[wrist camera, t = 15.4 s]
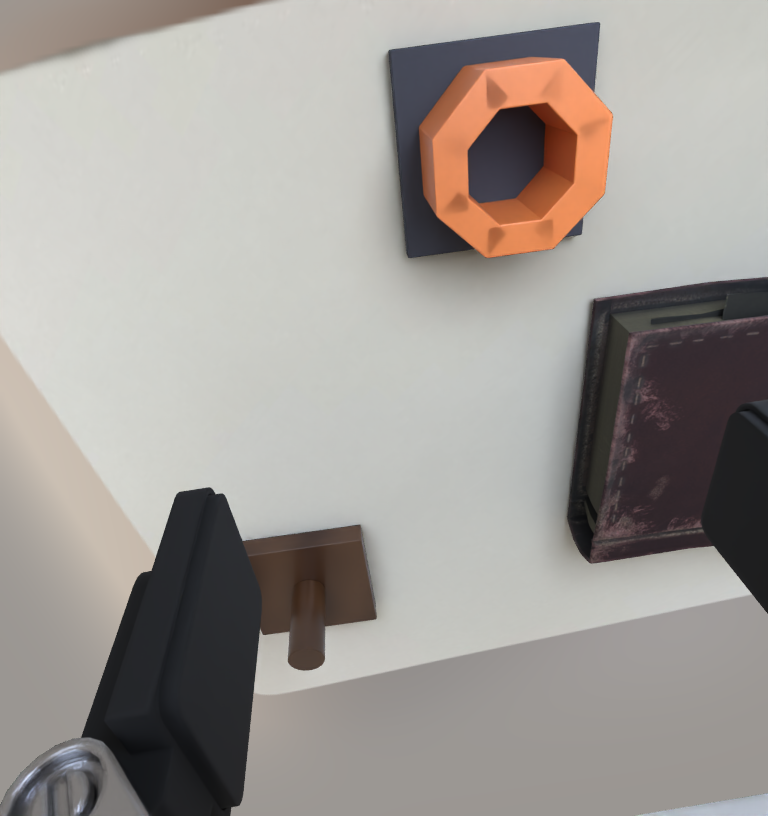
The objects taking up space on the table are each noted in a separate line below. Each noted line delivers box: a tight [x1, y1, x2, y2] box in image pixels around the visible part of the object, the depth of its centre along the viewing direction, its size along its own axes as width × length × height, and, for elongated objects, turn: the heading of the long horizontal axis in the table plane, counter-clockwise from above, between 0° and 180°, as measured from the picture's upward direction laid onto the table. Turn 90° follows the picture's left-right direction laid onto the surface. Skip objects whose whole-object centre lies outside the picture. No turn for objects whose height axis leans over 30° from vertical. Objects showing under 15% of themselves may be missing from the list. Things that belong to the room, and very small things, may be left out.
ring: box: [419, 57, 613, 258], centre depth 24 cm, size 7×7×4 cm
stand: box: [242, 525, 377, 670], centre depth 39 cm, size 9×9×7 cm
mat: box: [389, 22, 600, 258], centre depth 26 cm, size 9×9×1 cm
